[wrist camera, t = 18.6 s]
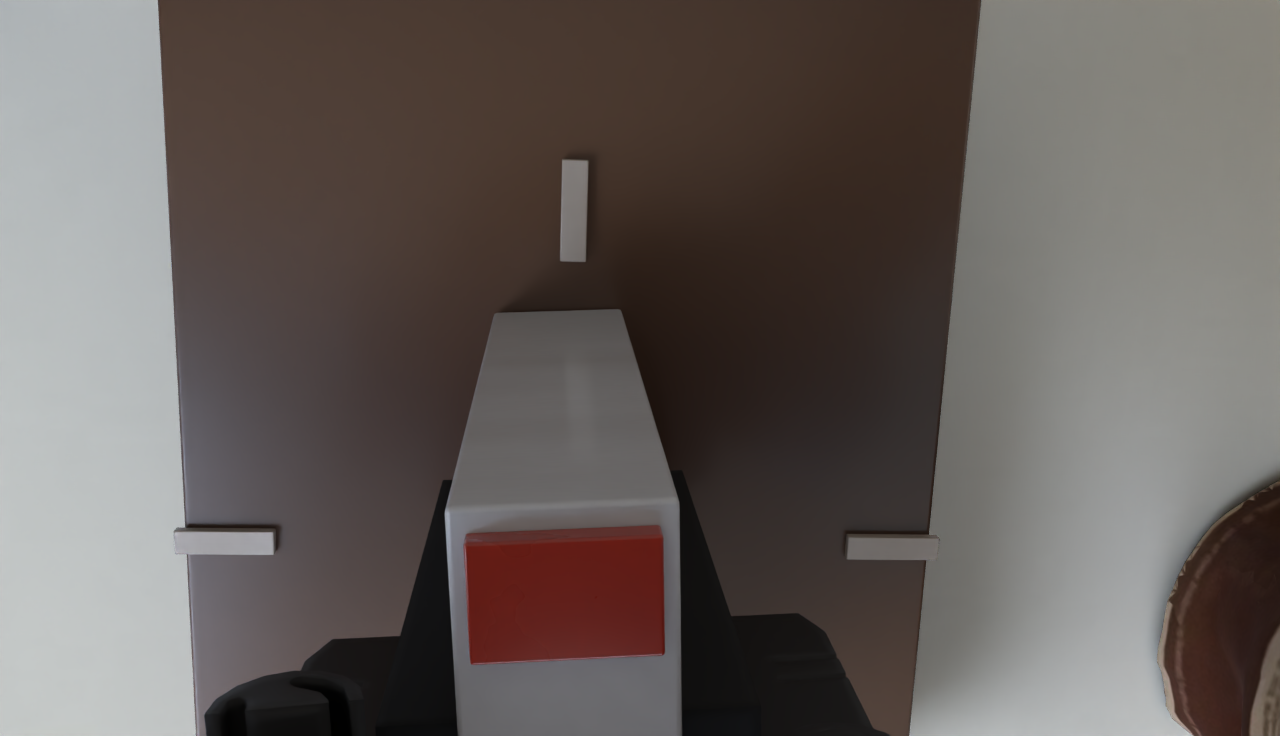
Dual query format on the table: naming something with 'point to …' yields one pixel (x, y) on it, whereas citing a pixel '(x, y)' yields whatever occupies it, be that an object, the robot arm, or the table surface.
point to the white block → (564, 539)
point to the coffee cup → (1227, 626)
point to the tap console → (561, 288)
